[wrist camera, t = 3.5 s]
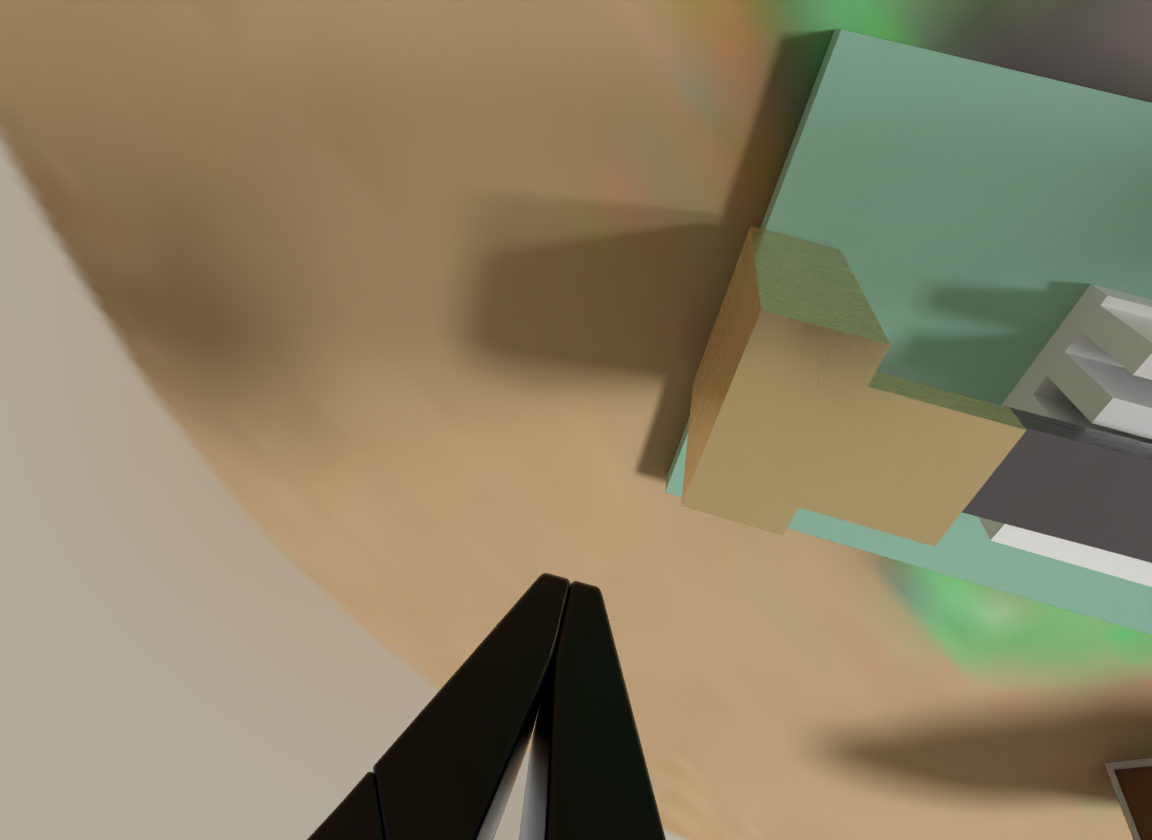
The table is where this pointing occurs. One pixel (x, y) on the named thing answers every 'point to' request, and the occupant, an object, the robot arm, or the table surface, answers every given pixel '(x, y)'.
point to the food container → (1134, 794)
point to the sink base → (987, 274)
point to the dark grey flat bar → (1073, 487)
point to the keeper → (826, 408)
